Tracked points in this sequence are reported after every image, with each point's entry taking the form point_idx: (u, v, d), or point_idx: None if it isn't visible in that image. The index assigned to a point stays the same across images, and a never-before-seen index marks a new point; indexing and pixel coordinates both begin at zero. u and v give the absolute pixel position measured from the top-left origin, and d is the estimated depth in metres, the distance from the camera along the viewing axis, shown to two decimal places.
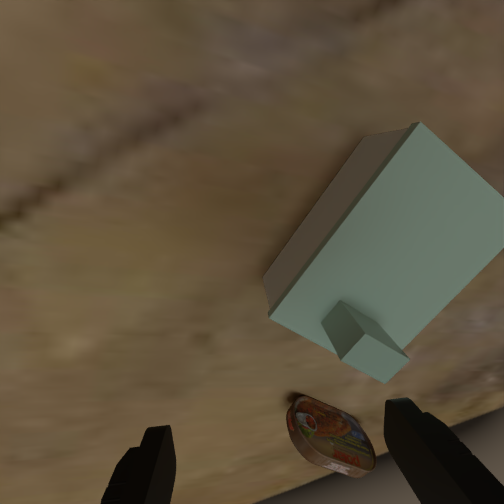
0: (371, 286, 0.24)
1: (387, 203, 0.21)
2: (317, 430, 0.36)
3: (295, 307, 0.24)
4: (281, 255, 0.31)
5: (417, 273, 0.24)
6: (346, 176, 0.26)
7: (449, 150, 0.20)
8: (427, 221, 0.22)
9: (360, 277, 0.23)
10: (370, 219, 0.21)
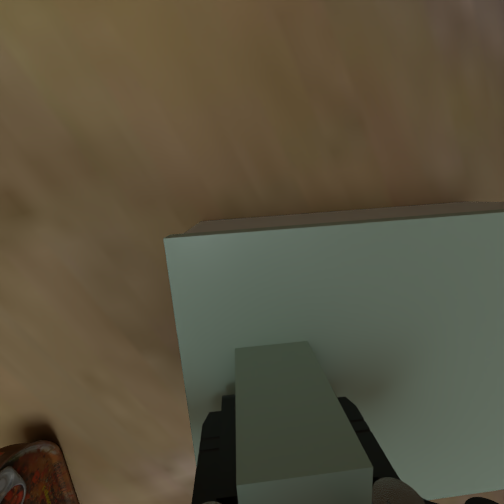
0: (369, 369, 0.11)
1: None
2: None
3: (230, 272, 0.10)
4: (257, 218, 0.17)
5: (437, 415, 0.12)
6: (434, 207, 0.16)
7: None
8: None
9: (373, 336, 0.11)
10: (486, 259, 0.10)
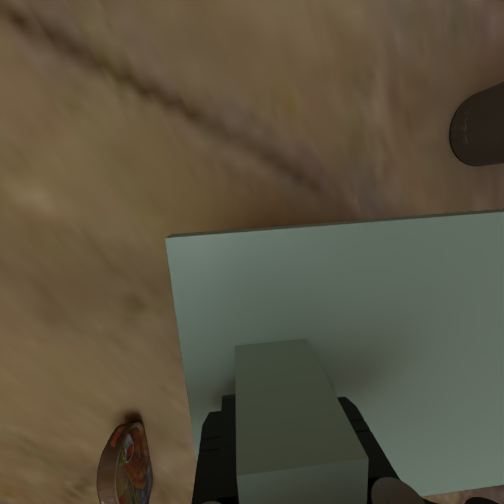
0: (367, 366, 0.11)
1: None
2: (127, 463, 0.33)
3: (230, 271, 0.10)
4: None
5: (433, 412, 0.12)
6: None
7: None
8: None
9: (371, 334, 0.11)
10: (481, 258, 0.10)
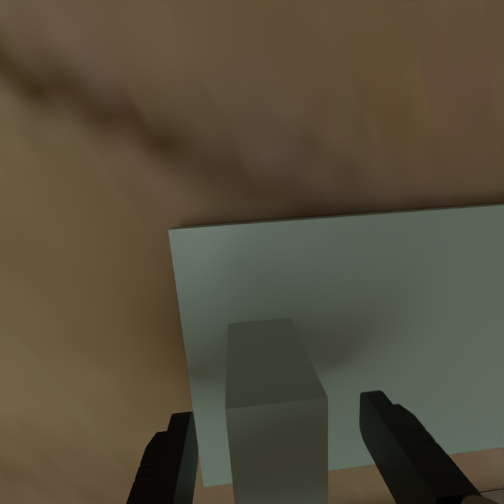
0: (343, 343, 0.13)
1: (476, 252, 0.12)
2: None
3: (224, 258, 0.11)
4: None
5: (403, 384, 0.14)
6: None
7: None
8: (480, 328, 0.13)
9: (346, 314, 0.12)
10: (441, 248, 0.12)
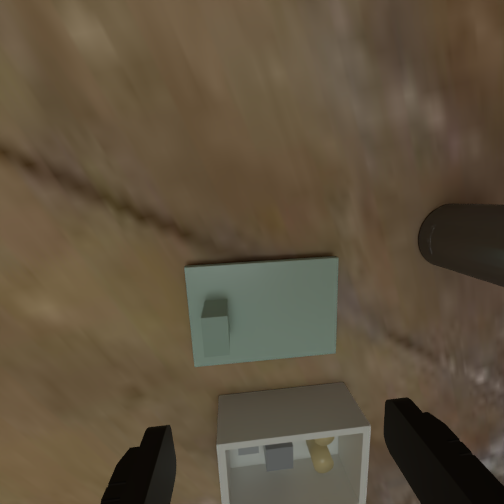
0: (248, 309, 0.34)
1: (295, 276, 0.34)
2: None
3: (203, 277, 0.33)
4: (245, 397, 0.38)
5: (273, 326, 0.35)
6: (320, 398, 0.37)
7: (336, 282, 0.35)
8: (301, 304, 0.35)
9: (248, 298, 0.34)
10: (281, 275, 0.34)
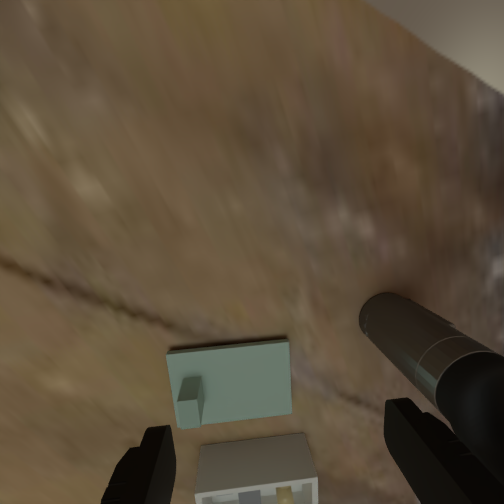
0: (218, 383, 0.43)
1: (254, 357, 0.42)
2: None
3: (181, 361, 0.42)
4: (221, 448, 0.47)
5: (239, 395, 0.44)
6: (282, 449, 0.46)
7: (288, 360, 0.43)
8: (261, 378, 0.43)
9: (218, 375, 0.43)
10: (243, 356, 0.42)
